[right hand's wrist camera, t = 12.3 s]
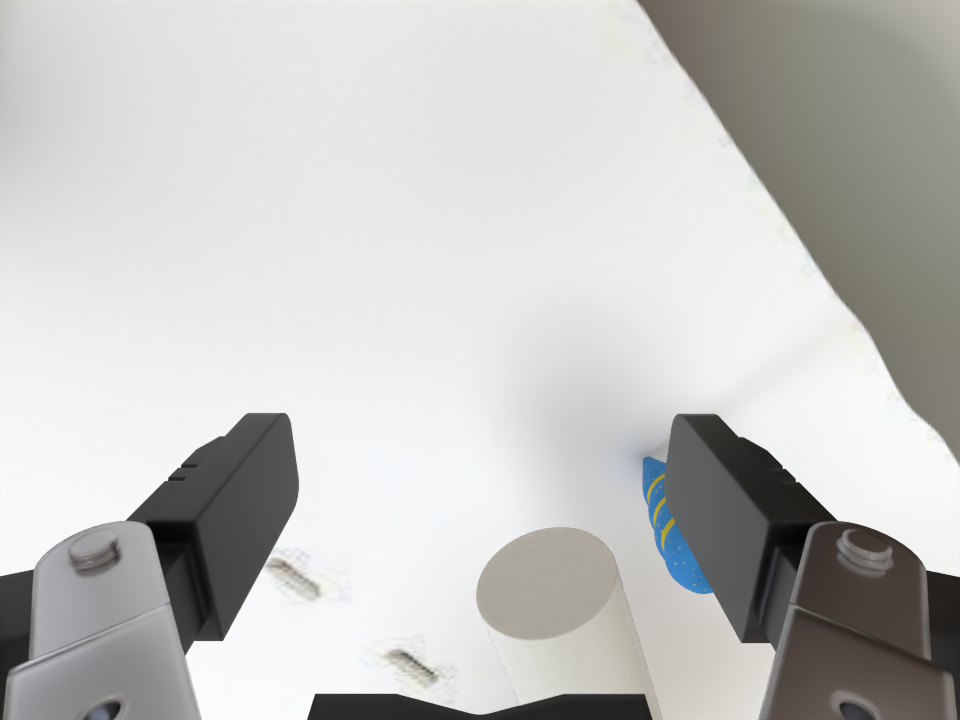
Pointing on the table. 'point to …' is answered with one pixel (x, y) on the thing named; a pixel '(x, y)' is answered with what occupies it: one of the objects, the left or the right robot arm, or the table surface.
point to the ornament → (670, 531)
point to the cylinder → (562, 618)
